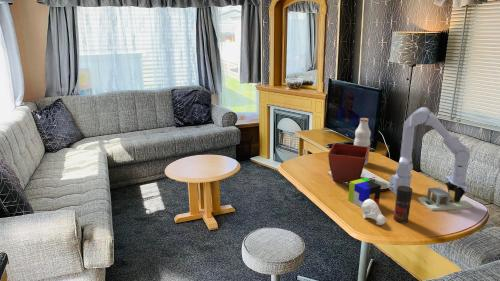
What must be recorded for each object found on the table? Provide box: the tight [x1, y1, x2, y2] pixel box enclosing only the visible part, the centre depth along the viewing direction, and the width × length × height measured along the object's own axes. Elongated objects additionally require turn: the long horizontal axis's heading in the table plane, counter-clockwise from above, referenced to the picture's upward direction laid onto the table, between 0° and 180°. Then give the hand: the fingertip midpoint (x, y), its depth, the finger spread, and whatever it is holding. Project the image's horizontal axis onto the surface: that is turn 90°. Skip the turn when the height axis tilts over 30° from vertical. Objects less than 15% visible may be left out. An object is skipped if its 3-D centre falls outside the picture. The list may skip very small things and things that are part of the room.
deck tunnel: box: [417, 186, 474, 212], centre depth 176 cm, size 21×11×7 cm, turn 99°
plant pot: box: [327, 143, 370, 184], centre depth 203 cm, size 19×19×17 cm
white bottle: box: [353, 117, 372, 166], centre depth 224 cm, size 9×9×28 cm
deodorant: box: [393, 186, 413, 224], centre depth 161 cm, size 6×6×15 cm
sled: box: [431, 190, 460, 204], centre depth 176 cm, size 12×4×5 cm, turn 99°
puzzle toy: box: [347, 177, 382, 209], centre depth 177 cm, size 10×10×10 cm
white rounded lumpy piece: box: [361, 199, 387, 226], centre depth 161 cm, size 6×8×12 cm
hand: (454, 199), depth 177 cm, fingers closed on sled, 4 cm apart
